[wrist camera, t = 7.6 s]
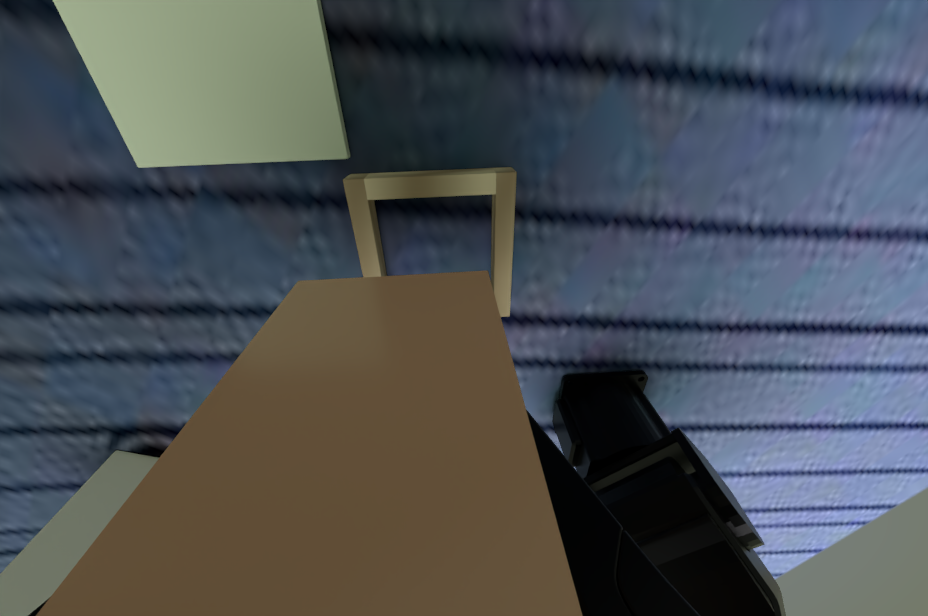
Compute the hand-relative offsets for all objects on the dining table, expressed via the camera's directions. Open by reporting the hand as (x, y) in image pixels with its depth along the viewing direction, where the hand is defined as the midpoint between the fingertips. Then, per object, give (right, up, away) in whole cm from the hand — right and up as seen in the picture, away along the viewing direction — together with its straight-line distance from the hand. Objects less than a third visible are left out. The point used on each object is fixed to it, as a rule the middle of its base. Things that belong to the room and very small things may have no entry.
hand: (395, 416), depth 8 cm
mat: (-9, +14, +6) cm, 18 cm away
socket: (0, +6, +12) cm, 13 cm away
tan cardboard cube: (0, +1, +2) cm, 2 cm away
